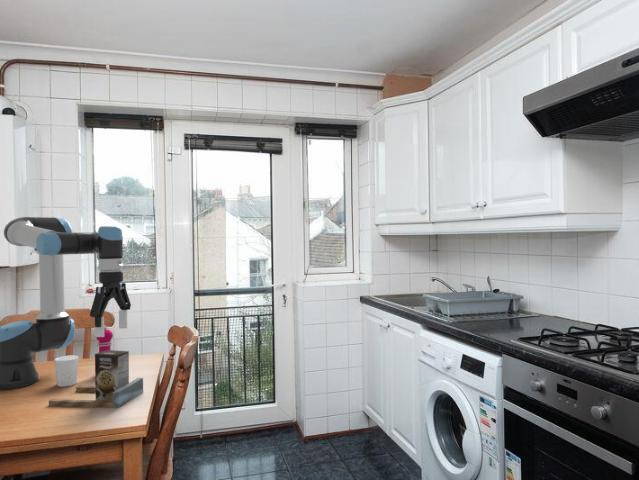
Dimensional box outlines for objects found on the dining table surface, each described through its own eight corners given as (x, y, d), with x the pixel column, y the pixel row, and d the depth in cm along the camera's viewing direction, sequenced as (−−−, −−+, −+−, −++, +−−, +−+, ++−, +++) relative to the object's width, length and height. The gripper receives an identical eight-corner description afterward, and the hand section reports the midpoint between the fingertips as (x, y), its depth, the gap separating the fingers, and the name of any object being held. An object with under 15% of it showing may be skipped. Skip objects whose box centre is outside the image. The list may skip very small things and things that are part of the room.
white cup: (68, 387, 165) (67, 361, 165) (50, 386, 167) (49, 360, 167) (83, 381, 173) (83, 355, 173) (66, 380, 175) (65, 354, 175)
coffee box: (94, 401, 151) (93, 354, 151) (107, 394, 157) (106, 349, 157) (117, 403, 148) (116, 355, 148) (130, 396, 155) (129, 350, 155)
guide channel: (48, 405, 147) (48, 390, 147) (79, 390, 162) (78, 376, 162) (119, 407, 144) (118, 392, 144) (143, 391, 159) (142, 377, 159)
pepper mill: (109, 377, 177) (108, 327, 177) (92, 377, 177) (91, 327, 177) (118, 371, 184) (117, 324, 184) (101, 372, 185) (100, 324, 184)
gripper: (98, 273, 140) (99, 340, 140) (140, 268, 165) (141, 325, 165) (76, 273, 141) (77, 340, 141) (121, 268, 166) (122, 325, 166)
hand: (112, 332), depth 153 cm, fingers open, 13 cm apart
